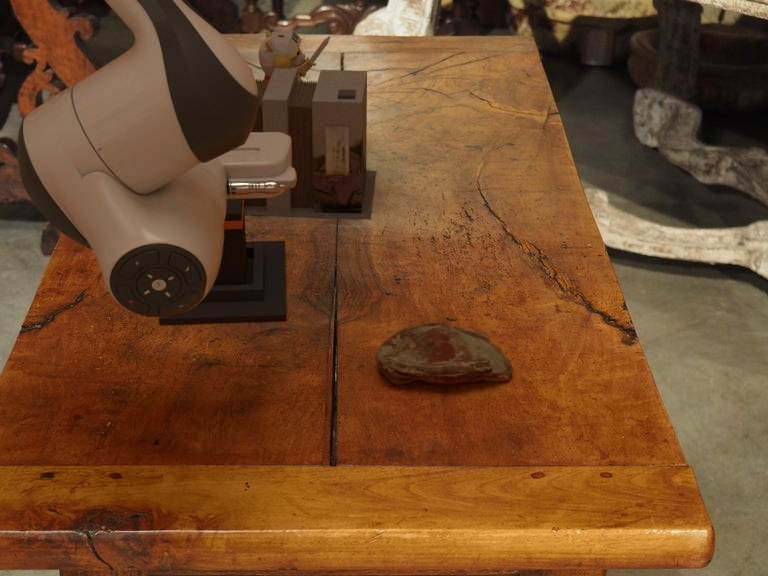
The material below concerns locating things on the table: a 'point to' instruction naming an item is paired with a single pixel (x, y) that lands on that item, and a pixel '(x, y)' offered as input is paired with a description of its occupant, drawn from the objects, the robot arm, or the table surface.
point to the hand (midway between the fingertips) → (186, 130)
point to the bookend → (319, 144)
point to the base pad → (245, 291)
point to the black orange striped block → (233, 246)
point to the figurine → (286, 53)
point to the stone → (441, 356)
